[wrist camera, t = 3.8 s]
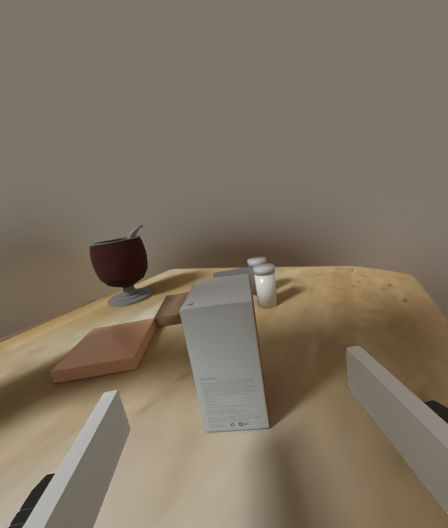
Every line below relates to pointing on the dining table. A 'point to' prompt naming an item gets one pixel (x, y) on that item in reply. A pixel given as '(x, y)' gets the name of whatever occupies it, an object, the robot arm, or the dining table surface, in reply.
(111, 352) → the terracotta coaster
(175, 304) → the walnut coaster
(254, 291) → the pepper shaker
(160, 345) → the dining table surface
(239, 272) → the slate coaster
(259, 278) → the salt shaker
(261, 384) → the small box
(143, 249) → the mate gourd
